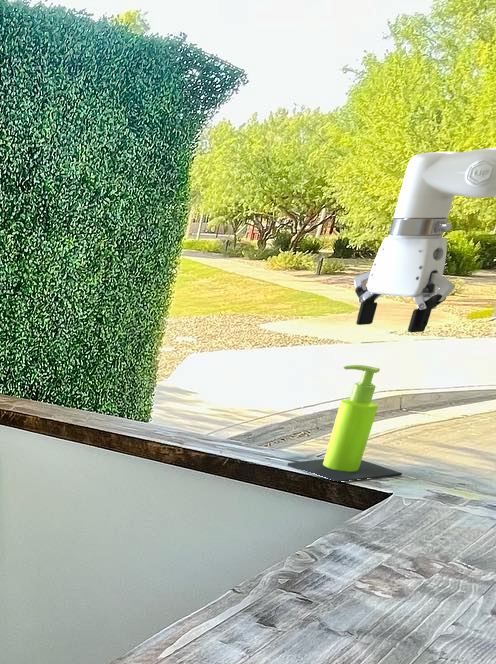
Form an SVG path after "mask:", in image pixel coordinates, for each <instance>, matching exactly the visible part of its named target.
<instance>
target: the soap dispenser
mask: <svg viewBox="0 0 496 664" xmlns="http://www.w3.org/2000/svg"><path fill="white" fill-rule="evenodd" d="M343 369H344V370H357V371H361V372H362V375H361V378H360V381H358V382H355V383H354V384H353V386H352V389H351V393H350V395H349V398H345V399H344V398H343V399H341V400H340V404H339V406H338V410H337V413H336V416H335V421H334V424H333V427H332V429H331V433H330V438H329V441H328V445H327V448H326V451H325V454H324V458H323V459H324V462H323V465H324V466H325V467H327V468H330V469H334V470H338V471H347V472H353V471H358V469H359V466H360V463H361V460H363V456H364V453H365V449H366V447H367V443H368V440H369V436H370V433H371V431H372V428H373V425H374V420H375V417H376V414H377V410H378V407H379V404H378V403H377V402H375V401H372V400H373V397H374V394H375V390H376V385H375V384H373V383H372V382H373V377H374V374H377V373H379V372H380V370H381V369H380V368H379V367H373V366H369V365H364V364H351V365H345V366H343Z"/></svg>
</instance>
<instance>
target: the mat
mask: <svg viewBox="0 0 496 664" xmlns="http://www.w3.org/2000/svg"><path fill="white" fill-rule="evenodd" d="M323 462H324V458H320V459H311V460H303V461H302V460H301V461H294V462H288V463H287V466H289V467H291V466H292V468H294V469H297V470H299V469H301V470H300V471H302V470H305V471H308V472H311V473H315V474H317V475H320V476H323V477H326V478H328V479H331V480H334V481H337V482H341V481H349V480H357V479H367V478H376V479H383V478H391V477H392V478H393V477H401V476H402V475H403V472H400V471H396V470H394V469H390V468H388V467H385V466H381V465H378V464H376V463H372V462H369V461H366V460H363V459H362V460H361V463H360V466H359V469H358V471H353V472H347V471H338V470H334V469H330V468H327V467H325V466H324V465H323ZM305 471H304V472H305ZM308 472H307V473H308Z"/></svg>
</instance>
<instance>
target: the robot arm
mask: <svg viewBox="0 0 496 664" xmlns="http://www.w3.org/2000/svg"><path fill="white" fill-rule="evenodd" d="M406 166H407V167H406V170H405V172H404V175H403V176H404V177H403V181H402V185H401V188H400V191H399V195H398V199H397V203H396V207H395V210H394V213H393V218H392V221H391V226H390V229H389V232H388V236H385V237H384V239H383V241H382V242H381V245H380V246H379V249H378V251H377V254H376V256H375V259H374V261H373V264H372V266H371V270H369V271H366V272H364V273H361V274H359V275H357V276H355V277H354V278H353V283H354V287H355V291H354V292H355V294H356V296H357V297H358V299H357V301H358V302H359V304H360V306H359V309H358V314H357V319H356V322H355V324H356V325H357V326H362V325H363V326H365V325H371V324H373V321H374V318H375V314H376V310H377V307H378V302H377V300H378V299H379V298H380V297H381V296H382V295H385V296H392V297H393V296H394V297H402V298H403V297H404V298H413V300H414V302H415V304H416V307H417V308H414V309H413V310H412V313H411V317H410V320H409V324H408V328H407V332H408V333H423V332H424V331H425V330H426V327H428V323H429V319H430V316H431V314H432V310H435V309H436V308H437V306H439V305H440V304H442V303H444V301H446V300H447V297H449V295H450V294H451V293H452V292H453V291H454V290H455V288H456V284H454V283H453V282H451V281H450V280H449V279H447V278H446V277H444V276H443V274H444V270H445V266H446V265H445V264H446V260H447V251H448V238H447V237H443V235H444V233H445V232H449V231H450V230H451V229H452V227H453V224H452V222H448V218H449V215H450V211H451V208H452V204H453V201H454V198H455V196H457V197H466V198H475V199H476V198H477V199H483V198H485V199H487V198H496V147H485V148H479V149H474V150H473V149H472V150H467V151H432V152H421V153H417V154H415V155H413V156H412V157H411V158H409V161H408V163H407V165H406Z"/></svg>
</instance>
